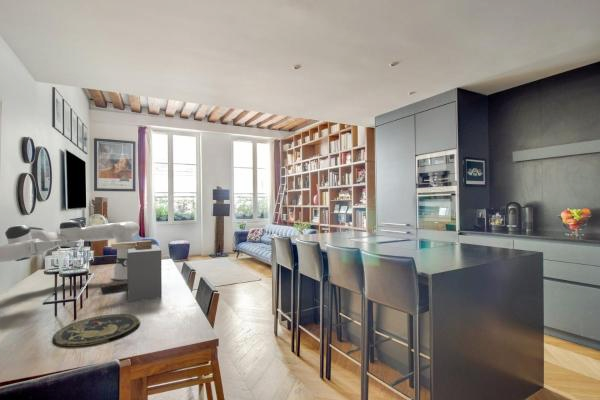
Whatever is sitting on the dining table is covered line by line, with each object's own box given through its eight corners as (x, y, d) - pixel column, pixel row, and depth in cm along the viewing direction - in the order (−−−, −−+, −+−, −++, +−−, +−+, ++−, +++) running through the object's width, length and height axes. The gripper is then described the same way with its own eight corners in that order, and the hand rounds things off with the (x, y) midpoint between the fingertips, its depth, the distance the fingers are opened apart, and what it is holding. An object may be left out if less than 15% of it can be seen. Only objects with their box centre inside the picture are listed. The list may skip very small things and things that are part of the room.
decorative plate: (71, 317, 137) (146, 310, 146) (71, 322, 137) (146, 314, 146) (35, 349, 109) (131, 337, 117) (36, 354, 109) (131, 342, 117)
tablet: (148, 280, 209) (154, 286, 192) (148, 281, 209) (154, 287, 192) (100, 287, 193) (102, 294, 177) (100, 288, 193) (102, 296, 177)
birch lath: (111, 248, 179) (111, 243, 179) (149, 245, 189) (149, 240, 189) (111, 249, 176) (111, 244, 176) (150, 246, 186) (150, 241, 186)
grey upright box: (127, 289, 187) (127, 246, 188) (156, 285, 195) (156, 244, 196) (128, 302, 163) (128, 252, 163) (161, 297, 171) (161, 250, 171)
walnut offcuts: (135, 248, 180) (135, 241, 180) (151, 246, 184) (151, 240, 184) (135, 249, 175) (135, 242, 175) (152, 248, 179) (152, 241, 179)
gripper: (43, 251, 173) (73, 245, 179) (31, 254, 155) (64, 247, 161) (41, 240, 173) (71, 234, 179) (28, 242, 154) (62, 235, 161)
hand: (68, 241), depth 170 cm, fingers open, 8 cm apart
